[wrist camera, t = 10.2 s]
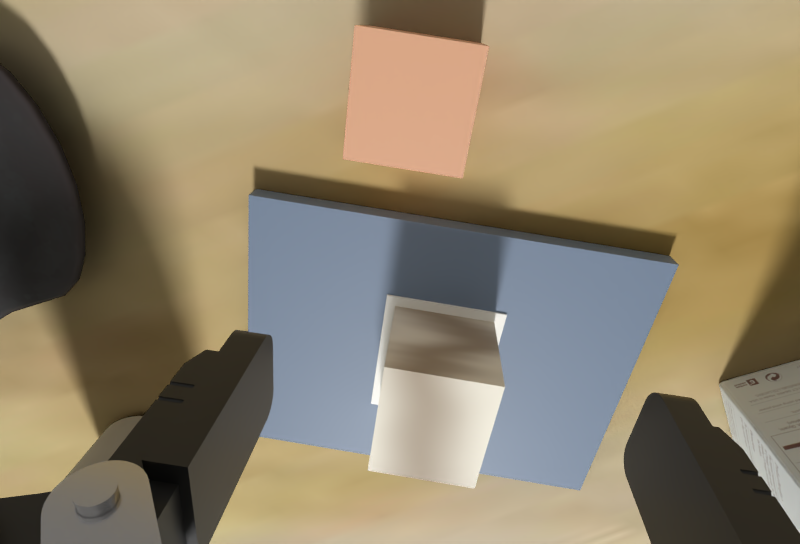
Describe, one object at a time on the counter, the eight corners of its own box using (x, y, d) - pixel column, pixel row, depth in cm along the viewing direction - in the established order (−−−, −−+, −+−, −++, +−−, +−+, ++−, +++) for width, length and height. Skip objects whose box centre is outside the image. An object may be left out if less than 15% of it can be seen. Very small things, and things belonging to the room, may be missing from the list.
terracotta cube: (480, 42, 20) (489, 46, 16) (459, 151, 22) (462, 178, 18) (372, 25, 20) (354, 24, 16) (361, 135, 22) (342, 159, 18)
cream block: (494, 322, 25) (505, 387, 20) (469, 413, 27) (474, 488, 23) (395, 305, 25) (384, 367, 20) (380, 398, 27) (367, 470, 23)
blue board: (669, 256, 24) (679, 265, 23) (575, 476, 30) (580, 491, 29) (256, 188, 24) (248, 195, 23) (253, 422, 31) (247, 435, 30)
